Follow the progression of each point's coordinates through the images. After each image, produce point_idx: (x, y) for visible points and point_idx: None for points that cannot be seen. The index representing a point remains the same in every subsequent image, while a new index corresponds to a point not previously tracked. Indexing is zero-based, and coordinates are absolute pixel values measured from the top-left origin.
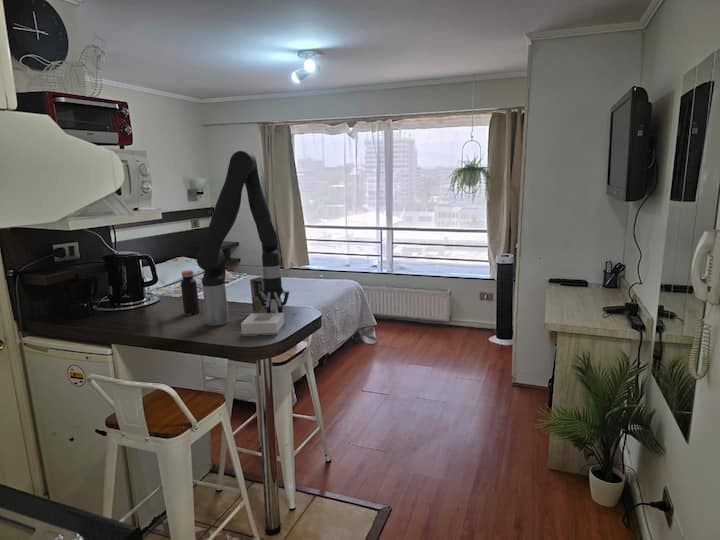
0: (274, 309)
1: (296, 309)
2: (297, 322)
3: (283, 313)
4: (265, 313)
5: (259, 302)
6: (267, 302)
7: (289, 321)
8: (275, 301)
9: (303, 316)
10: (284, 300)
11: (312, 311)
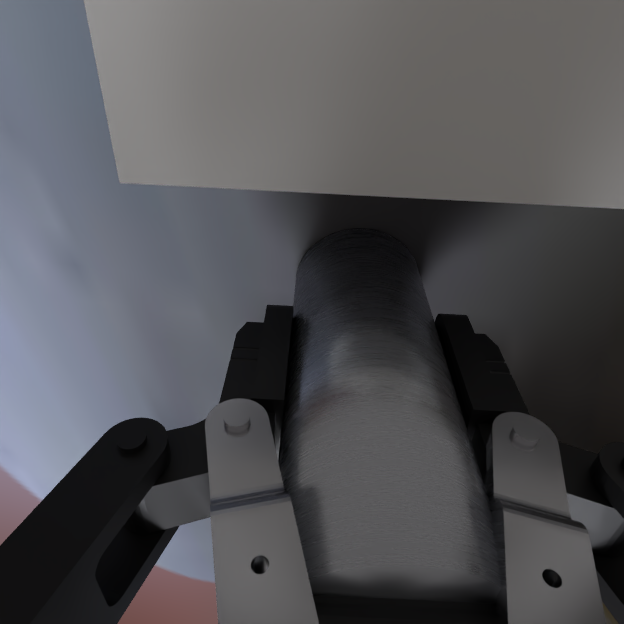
0: (361, 348)
1: (212, 544)
2: (17, 173)
3: (114, 139)
4: (554, 177)
5: (608, 615)
6: (545, 507)
7: (156, 233)
8: (331, 507)
9: (55, 383)
10: (83, 524)
11: (36, 492)
